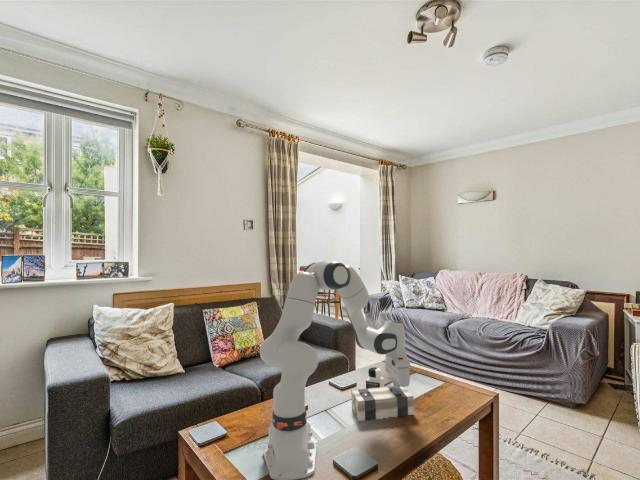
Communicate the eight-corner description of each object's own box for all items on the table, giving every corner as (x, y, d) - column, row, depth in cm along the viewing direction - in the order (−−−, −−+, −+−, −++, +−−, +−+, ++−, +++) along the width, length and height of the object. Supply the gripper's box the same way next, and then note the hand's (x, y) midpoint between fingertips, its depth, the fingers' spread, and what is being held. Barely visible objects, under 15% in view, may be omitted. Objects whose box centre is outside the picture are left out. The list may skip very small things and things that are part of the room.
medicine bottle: (366, 395, 165) (365, 369, 166) (370, 389, 172) (370, 365, 172) (380, 397, 162) (379, 371, 162) (384, 391, 168) (383, 367, 169)
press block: (414, 415, 143) (413, 396, 144) (358, 421, 140) (358, 401, 140) (403, 403, 155) (402, 385, 156) (351, 408, 152) (351, 389, 152)
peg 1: (372, 412, 145) (371, 395, 145) (363, 413, 144) (362, 396, 145) (369, 408, 149) (369, 392, 149) (360, 409, 148) (360, 393, 148)
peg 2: (403, 407, 147) (402, 390, 147) (394, 408, 146) (394, 391, 147) (400, 403, 151) (399, 387, 151) (391, 404, 150) (390, 388, 151)
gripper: (381, 351, 159) (382, 381, 159) (397, 365, 139) (398, 399, 139) (394, 350, 160) (395, 379, 160) (411, 364, 140) (413, 398, 140)
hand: (396, 389), depth 149 cm, fingers closed, pressing on peg 2
